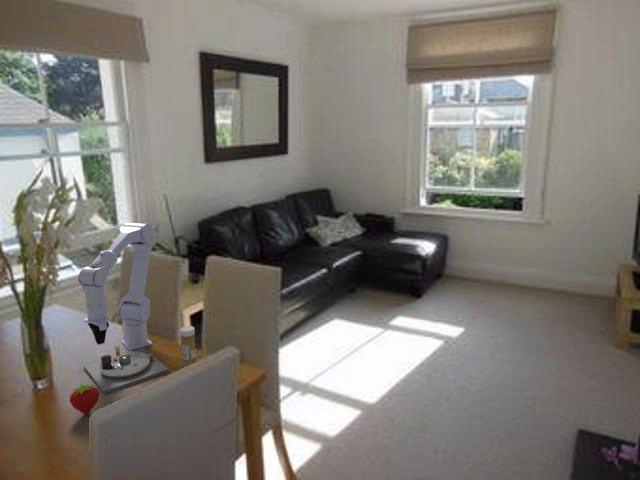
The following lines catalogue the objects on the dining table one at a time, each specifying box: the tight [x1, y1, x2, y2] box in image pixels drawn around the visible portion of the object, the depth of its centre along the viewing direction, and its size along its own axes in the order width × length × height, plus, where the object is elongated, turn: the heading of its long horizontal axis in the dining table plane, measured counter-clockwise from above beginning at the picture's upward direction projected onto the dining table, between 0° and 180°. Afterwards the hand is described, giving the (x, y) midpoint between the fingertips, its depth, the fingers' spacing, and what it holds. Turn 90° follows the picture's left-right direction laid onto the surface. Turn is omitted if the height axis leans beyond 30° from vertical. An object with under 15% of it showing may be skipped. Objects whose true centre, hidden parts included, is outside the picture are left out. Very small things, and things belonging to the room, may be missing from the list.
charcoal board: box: [83, 346, 169, 395], centre depth 160 cm, size 20×20×1 cm
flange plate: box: [100, 350, 154, 379], centre depth 160 cm, size 16×15×5 cm
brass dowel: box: [114, 345, 121, 354], centre depth 166 cm, size 1×1×4 cm
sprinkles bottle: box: [179, 325, 197, 368], centre depth 161 cm, size 5×5×13 cm
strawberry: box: [69, 383, 100, 415], centre depth 136 cm, size 6×8×10 cm
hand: (100, 343), depth 160 cm, fingers closed
